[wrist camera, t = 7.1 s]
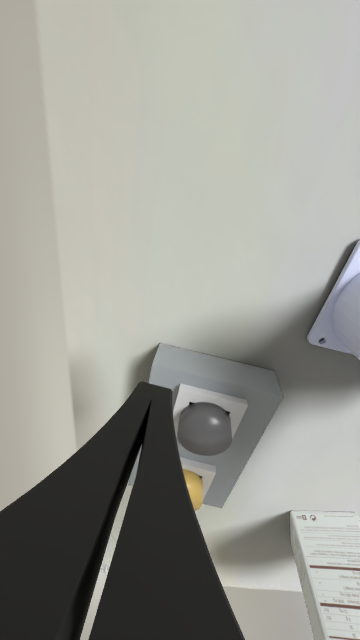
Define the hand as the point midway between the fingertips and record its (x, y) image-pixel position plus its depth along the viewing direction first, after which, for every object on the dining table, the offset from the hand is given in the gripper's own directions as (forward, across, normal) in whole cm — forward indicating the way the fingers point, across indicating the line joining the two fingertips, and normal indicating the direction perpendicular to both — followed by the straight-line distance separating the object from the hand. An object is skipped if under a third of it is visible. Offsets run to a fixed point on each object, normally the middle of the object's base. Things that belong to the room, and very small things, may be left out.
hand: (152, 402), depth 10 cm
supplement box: (+10, -23, +24) cm, 35 cm away
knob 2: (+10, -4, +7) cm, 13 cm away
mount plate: (+10, -4, +12) cm, 16 cm away
